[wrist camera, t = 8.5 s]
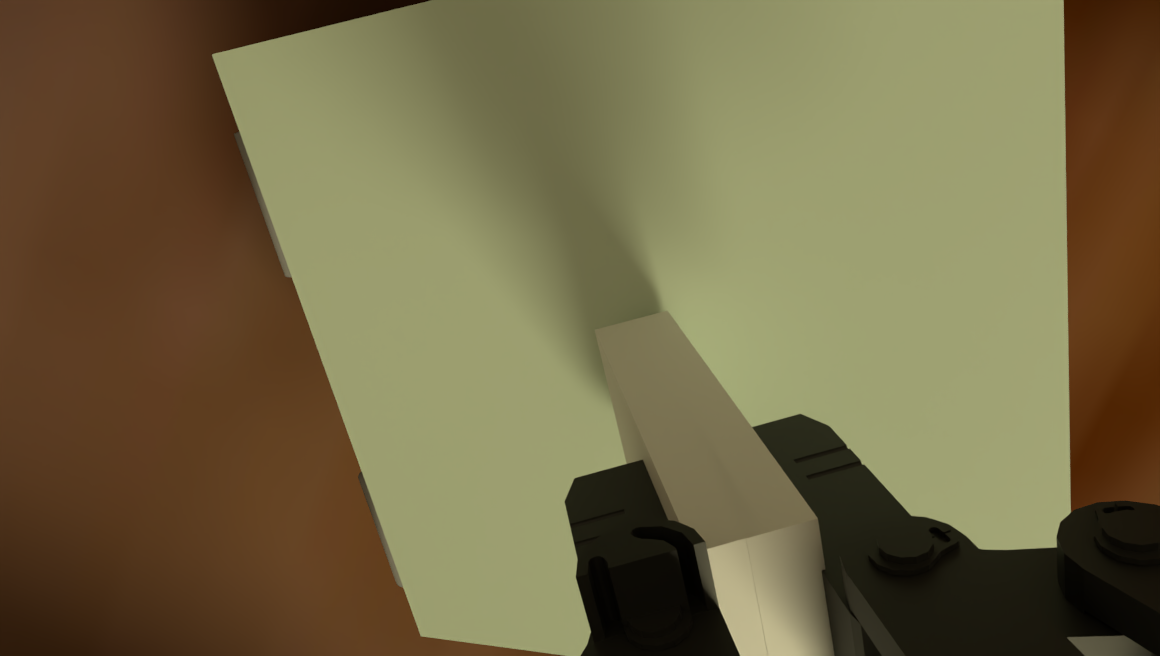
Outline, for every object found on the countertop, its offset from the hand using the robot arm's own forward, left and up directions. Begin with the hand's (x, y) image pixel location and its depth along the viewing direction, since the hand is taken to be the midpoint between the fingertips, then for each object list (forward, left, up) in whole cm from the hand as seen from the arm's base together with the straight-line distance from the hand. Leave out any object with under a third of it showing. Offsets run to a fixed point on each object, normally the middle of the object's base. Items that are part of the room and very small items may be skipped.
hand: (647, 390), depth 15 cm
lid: (0, 0, -2) cm, 2 cm away
